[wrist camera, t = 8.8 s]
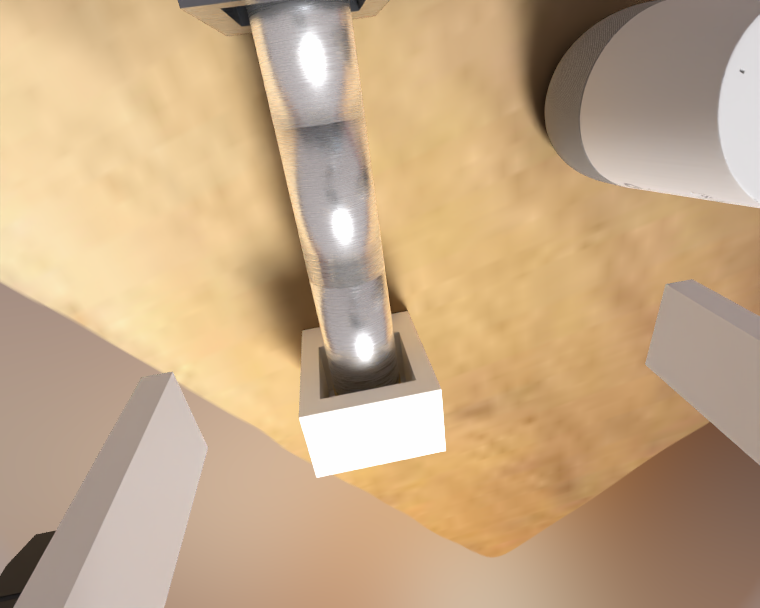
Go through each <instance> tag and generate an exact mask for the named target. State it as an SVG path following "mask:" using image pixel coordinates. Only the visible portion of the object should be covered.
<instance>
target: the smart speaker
mask: <svg viewBox="0 0 760 608" xmlns="http://www.w3.org/2000/svg"><path fill="white" fill-rule="evenodd" d="M545 124H546V130H547V133H548V136H549V139H550V142H551V144H552V146H553V147H554V149H555V151H556V152H557V154H558V155H559V156H560V157H561V158H562V159H563V161H565V162H566V163H567V164H568V165H569V166H571V167H572V168H573V169H575V170H576V171H578V172H579V173H581V174H583V175H585V176H587V177H590V178H592V179H595V180H598V181H602V182H606V183H609V184H614V185H618V186H623V187H628V188H634V189H641V190H647V191H654V192H660V193H666V194H673V195H679V196H686V197H692V198H698V199H705V200H711V201H717V202H723V203H730V204H736V205H743V206H750V207H756V208H760V0H656V1H650V2H646V3H641V4H638V5H634V6H631V7H628V8H625V9H623V10H620V11H618V12H616V13H614V14H612V15H610V16H608V17H606V18H604V19H603V20H601V21H600V22H598V23H596V24H595V25H593V26H592V27H591V28H590V29H588V30H587V31H586V32H585V33H583V34H582V35H581V36H580V37H579V38H578V39H577V40H576V41H575V42H574V43H573V44H572V46H571V47H570V48H569V49H568V50H567V52H566V53H565V55H564V56H563V57H562V59H561V61H560V62H559V64H558V66H557V68H556V70H555V72H554V74H553V76H552V79H551V81H550V84H549V87H548V91H547V96H546V102H545Z"/></svg>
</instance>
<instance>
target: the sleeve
mask: <svg viewBox="0 0 760 608" xmlns="http://www.w3.org/2000/svg"><path fill="white" fill-rule="evenodd" d="M274 1H282V0H178V3H179V6H180V9H182V10H184V11H185V12H187V13H189V14H190V15H192V16H194V17H196V18H197V19H199V20H201V21H202V22H204V23H206V24H207V25H209V26H211V27H212V28H214V29H216V30H218V31H219V32H221V33H223V34H224V35H226V36H232V35H239V34H246V33H252V30H251V25H250V21H249V17H248V12H247V8H246V5H251V4H259V3H267V2H274ZM349 1H350V9H351V16H352V19H357V18H364V17H372V16H376V15H377V14H378V13H379V11H380V10H381V9H382V8H383V7H384V6H385V5H386V4H387V3H388V2H389V0H349Z"/></svg>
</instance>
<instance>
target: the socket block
mask: <svg viewBox="0 0 760 608" xmlns="http://www.w3.org/2000/svg"><path fill="white" fill-rule="evenodd" d="M391 317H392V325H393V333H394V340H395V348H396V355H397V363H398V370H399V374H400V380H401V383H400V384H395V385H390V386H385V387H380V388H375V389H370V390H364V391H359V392H354V393H349V394H344V395H339V396H335V393H334V389H333V381H332V377H331V372H330V368H329V364H328V359H327V355H326V351H325V346H324V342H323V338H322V333H321V329H320V327H318V328H313V329H307V330H302V350H301V376H300V402H299V420H300V423H301V426H302V430H303V433H304V437H305V440H306V443H307V447H308V450H309V453H310V457H311V460H312V464H313V467H314V470H315V474H316V477H317V478H318V477H323V476H327V475H332V474H337V473H342V472H347V471H351V470H356V469H361V468H366V467H371V466H375V465H380V464H385V463H390V462H394V461H399V460H404V459H409V458H414V457H418V456H423V455H428V454H433V453H438V452H442V451H446V445H445V432H444V418H443V405H442V391H441V387H440V385H439V383H438V380H437V378H436V376H435V373H434V371H433V369H432V366H431V364H430V362H429V359H428V357H427V355H426V352H425V350H424V347H423V345H422V343H421V340H420V338H419V336H418V333H417V331H416V329H415V326H414V324H413V322H412V319H411V317H410V315H409V312H408V311H405V312H399V313H394V314H391Z"/></svg>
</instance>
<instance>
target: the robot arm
mask: <svg viewBox="0 0 760 608" xmlns="http://www.w3.org/2000/svg"><path fill="white" fill-rule="evenodd" d="M645 365H646V366H648V367H649V368H650V369H651V370H652V371H653V372H654V373H656V374H657V375H658V376H659V377H660V378H661V379H662V380H663V381H665V382H666V383H667V384H668V385H669V386H670V387H671V388H673V389H674V390H675V391H676V392H677V393H678V394H679V395H681V396H682V397H683V398H684V399H685V400H686V401H687V402H688V403H690V404H691V405H692V406H693V407H694V408H695V409H696V410H698V411H699V412H700V413H701V414H702V415H703V416H704V417H706V418H707V419H708V420H709V421H710V422H711V423H713V424H714V425H715V426H716V427H717V428H718V429H719V430H720V431H721V432H723V433H724V434H725V435H726V436H727V437H728V438H729V439H731V440H732V441H733V442H734V443H735V444H736V445H737V446H739V447H740V448H741V449H742V450H743V451H744V452H745V453H746V454H748V455H749V456H750V457H751V458H752V459H753V460H754V461H756V462H757V463H758V464H759V465H760V316H758V315H756V314H754V313H752V312H751V311H749V310H747V309H745V308H743V307H742V306H740V305H738V304H736V303H734V302H732V301H731V300H729V299H727V298H725V297H723V296H721V295H720V294H718V293H716V292H714V291H712V290H711V289H709V288H707V287H705V286H703V285H701V284H700V283H698V282H696V281H694V280H686V281H681V282H675V283H670V284H666V285H665V289H664V293H663V297H662V301H661V305H660V309H659V313H658V316H657V320H656V324H655V328H654V332H653V336H652V340H651V344H650V348H649V352H648V356H647V359H646V363H645ZM207 449H208V447H207V445H206V442H205V440H204V438H203V436H202V434H201V432H200V429H199V427H198V425H197V423H196V421H195V419H194V417H193V415H192V412H191V410H190V408H189V406H188V404H187V402H186V399H185V397H184V395H183V393H182V391H181V389H180V386H179V384H178V382H177V380H176V378H175V376H174V374H173V372H168V373H163V374H157V375H152V376H146V377H141V379H140V381H139V383H138V384H137V386H136V388H135V390H134V392H133V393H132V395H131V397H130V399H129V401H128V402H127V404H126V406H125V408H124V409H123V411H122V413H121V415H120V417H119V419H118V420H117V422H116V424H115V426H114V427H113V429H112V431H111V433H110V435H109V437H108V438H107V440H106V442H105V444H104V446H103V447H102V449H101V451H100V453H99V454H98V456H97V458H96V460H95V462H94V463H93V465H92V467H91V469H90V471H89V472H88V474H87V476H86V478H85V480H84V481H83V483H82V485H81V487H80V489H79V490H78V492H77V494H76V496H75V498H74V499H73V501H72V503H71V505H70V507H69V508H68V510H67V512H66V514H65V516H64V518H63V519H62V521H61V523H60V525H59V527H58V528H57V530H56V531H52V532H46V533H42V534H36V535H35V536H34V537H33V538H32V539H31V540H30V541H29V542H28V543H27V545H26V546H25V547H24V548H23V549H22V550H21V551H20V552H19V553H18V554H17V555H16V556H15V557H14V558H13V559H12V560H11V562H10V563H9V564H8V565H7V566H6V567H5V569H4V571H3V572H2V574H1V576H0V608H164V606H165V602H166V599H167V595H168V591H169V588H170V584H171V580H172V577H173V573H174V569H175V566H176V562H177V558H178V555H179V551H180V548H181V544H182V540H183V537H184V533H185V529H186V526H187V522H188V519H189V515H190V511H191V508H192V504H193V500H194V497H195V493H196V490H197V485H198V482H199V478H200V475H201V471H202V468H203V464H204V460H205V457H206V453H207Z"/></svg>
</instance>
